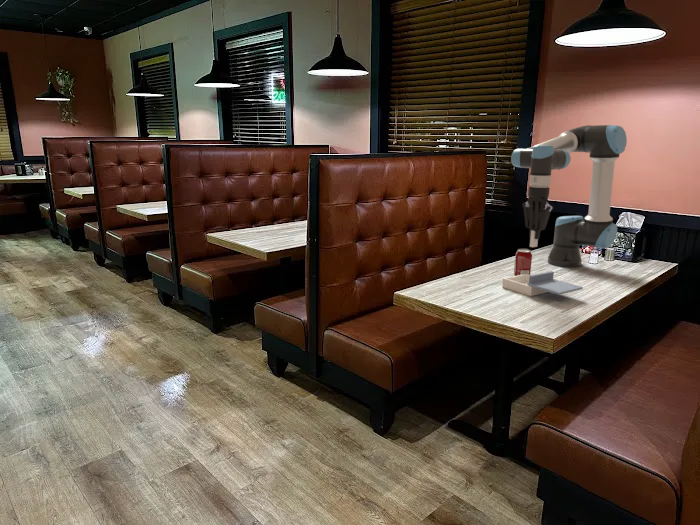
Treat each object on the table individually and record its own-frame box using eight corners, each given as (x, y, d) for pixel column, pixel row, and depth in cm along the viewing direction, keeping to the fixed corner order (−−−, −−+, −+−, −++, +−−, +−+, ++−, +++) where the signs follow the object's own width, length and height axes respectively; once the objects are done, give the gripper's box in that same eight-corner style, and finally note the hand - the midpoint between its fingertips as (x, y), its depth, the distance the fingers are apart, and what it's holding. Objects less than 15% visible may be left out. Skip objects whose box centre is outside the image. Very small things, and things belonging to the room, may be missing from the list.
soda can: (530, 279, 214) (533, 252, 211) (514, 278, 215) (517, 251, 212) (528, 275, 220) (531, 249, 217) (512, 274, 222) (515, 248, 219)
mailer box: (525, 282, 210) (526, 273, 210) (553, 290, 199) (554, 282, 198) (502, 286, 203) (503, 278, 202) (530, 296, 192) (531, 287, 191)
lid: (550, 280, 200) (551, 270, 199) (582, 289, 188) (583, 279, 187) (527, 285, 192) (528, 275, 191) (558, 294, 181) (560, 284, 180)
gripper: (518, 185, 194) (513, 244, 200) (547, 188, 183) (541, 250, 189) (531, 184, 198) (526, 242, 204) (560, 187, 187) (553, 248, 193)
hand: (533, 246), depth 197 cm, fingers closed
